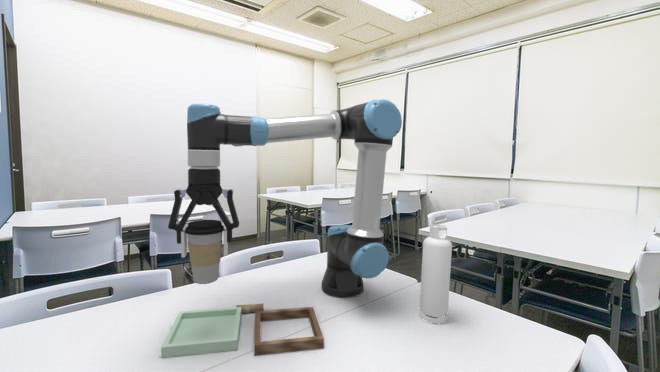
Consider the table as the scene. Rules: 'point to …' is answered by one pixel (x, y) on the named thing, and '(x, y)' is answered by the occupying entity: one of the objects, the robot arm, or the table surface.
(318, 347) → the walnut frame
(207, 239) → the coffee cup
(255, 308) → the birch dowel
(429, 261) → the bottle
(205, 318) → the sage tray
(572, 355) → the table surface
